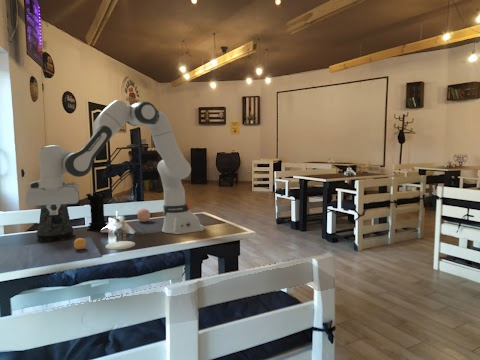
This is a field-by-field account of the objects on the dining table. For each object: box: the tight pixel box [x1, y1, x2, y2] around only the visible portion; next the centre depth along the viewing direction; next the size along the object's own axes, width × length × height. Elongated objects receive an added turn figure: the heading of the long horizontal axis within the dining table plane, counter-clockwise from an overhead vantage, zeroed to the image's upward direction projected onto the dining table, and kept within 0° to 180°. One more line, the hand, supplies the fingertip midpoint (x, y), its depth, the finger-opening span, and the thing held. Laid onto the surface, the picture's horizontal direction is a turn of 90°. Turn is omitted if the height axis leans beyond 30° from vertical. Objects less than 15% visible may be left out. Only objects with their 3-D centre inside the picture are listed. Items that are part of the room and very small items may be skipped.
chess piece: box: [85, 191, 108, 232], centre depth 192 cm, size 8×8×20 cm
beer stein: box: [36, 204, 74, 243], centre depth 176 cm, size 16×19×25 cm
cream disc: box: [105, 240, 136, 251], centre depth 161 cm, size 13×13×1 cm
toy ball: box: [136, 208, 151, 223], centre depth 210 cm, size 8×8×8 cm
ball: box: [73, 237, 87, 250], centre depth 156 cm, size 5×5×5 cm
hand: (53, 214), depth 151 cm, fingers closed
